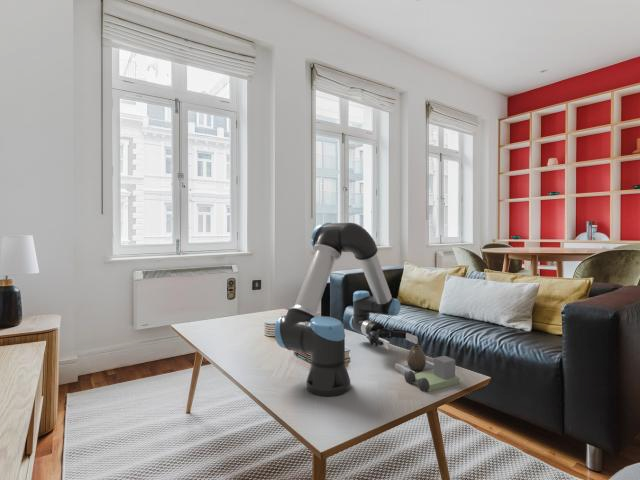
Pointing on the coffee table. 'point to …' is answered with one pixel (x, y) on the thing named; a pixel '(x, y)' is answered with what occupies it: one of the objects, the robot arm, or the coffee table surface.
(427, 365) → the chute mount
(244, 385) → the coffee table surface
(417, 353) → the vase
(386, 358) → the coffee table surface
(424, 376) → the toy truck
